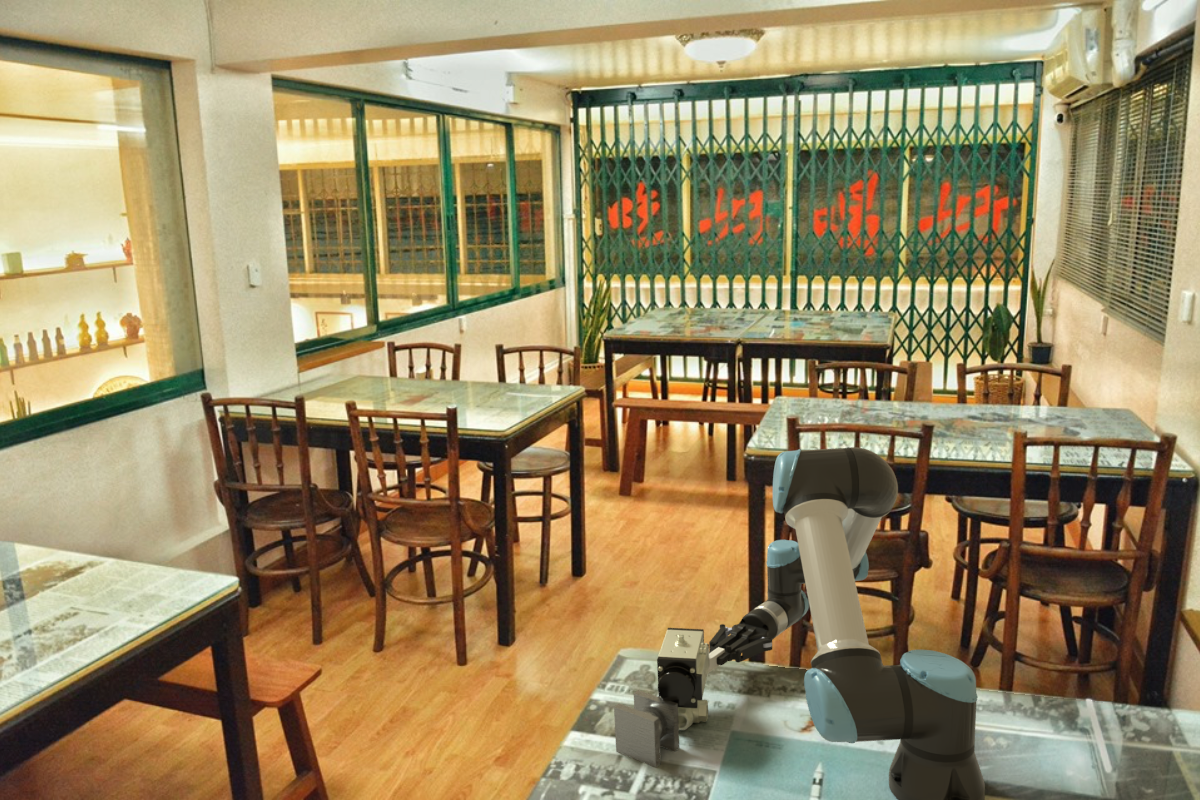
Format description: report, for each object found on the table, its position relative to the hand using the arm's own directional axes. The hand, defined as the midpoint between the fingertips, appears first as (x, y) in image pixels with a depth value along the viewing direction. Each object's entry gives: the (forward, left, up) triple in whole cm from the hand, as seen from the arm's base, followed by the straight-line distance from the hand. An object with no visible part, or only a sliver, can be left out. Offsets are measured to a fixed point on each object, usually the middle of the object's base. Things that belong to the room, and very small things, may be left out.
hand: (704, 666), depth 186 cm
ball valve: (-1, +8, -8) cm, 11 cm away
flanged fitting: (0, +20, -8) cm, 22 cm away
